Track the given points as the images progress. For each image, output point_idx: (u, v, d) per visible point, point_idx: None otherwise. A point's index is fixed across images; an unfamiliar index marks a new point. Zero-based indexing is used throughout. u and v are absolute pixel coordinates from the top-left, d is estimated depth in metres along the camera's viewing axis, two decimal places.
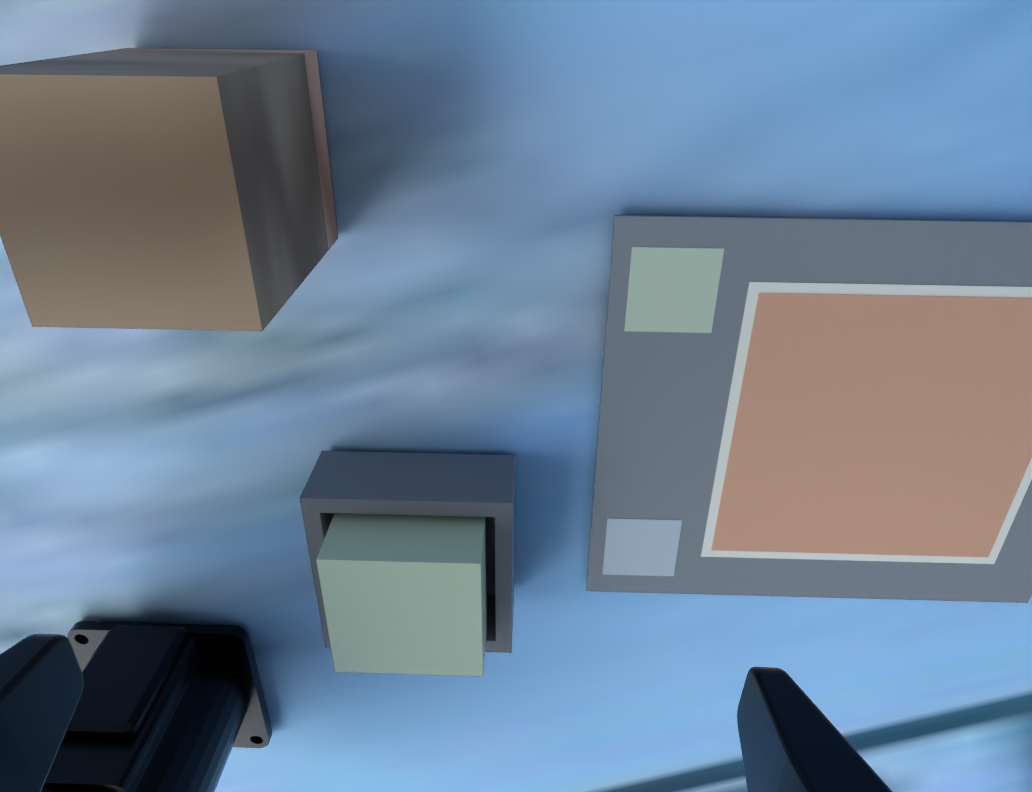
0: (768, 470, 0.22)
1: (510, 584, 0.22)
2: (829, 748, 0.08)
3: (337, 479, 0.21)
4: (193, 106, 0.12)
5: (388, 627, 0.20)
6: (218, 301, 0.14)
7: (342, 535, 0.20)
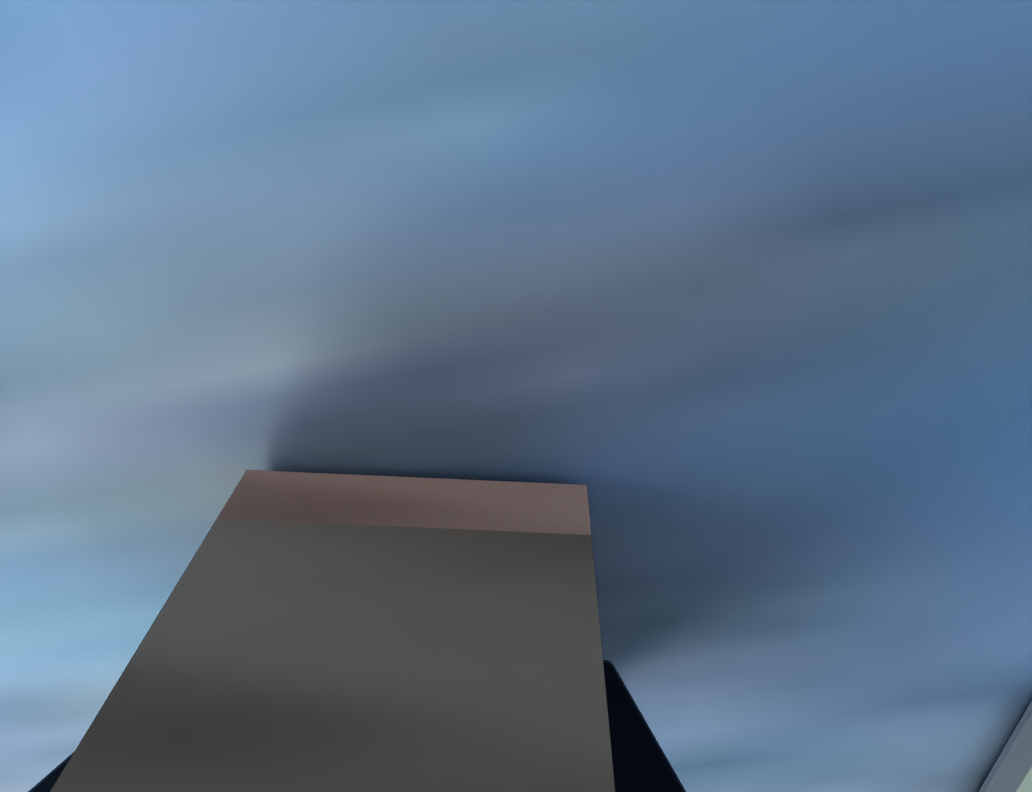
0: None
1: None
2: (630, 739, 0.08)
3: None
4: None
5: None
6: None
7: None
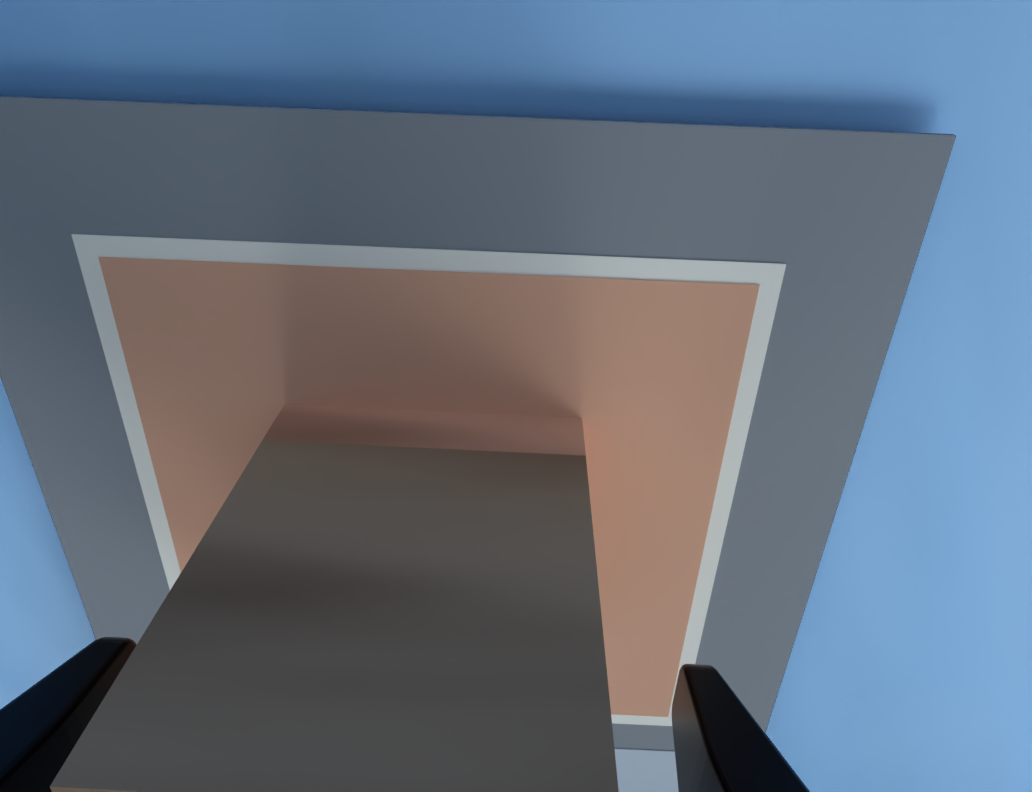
0: None
1: None
2: (749, 744, 0.08)
3: None
4: None
5: None
6: None
7: None
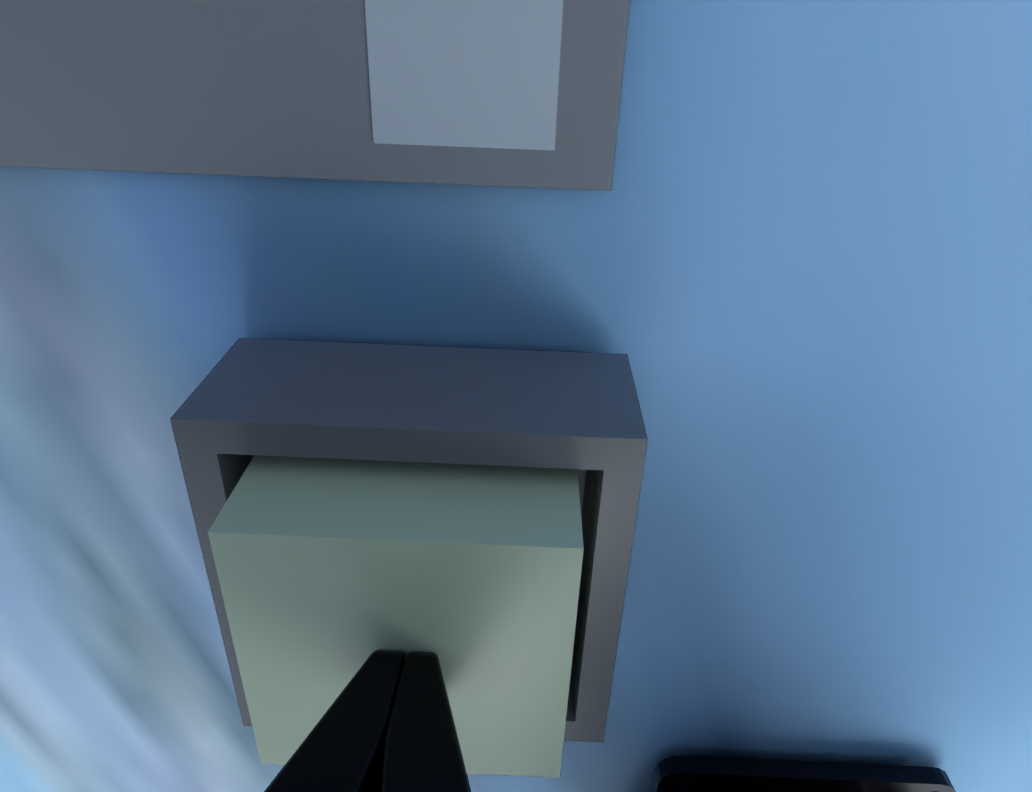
0: None
1: (414, 431, 0.09)
2: (428, 729, 0.08)
3: None
4: None
5: None
6: None
7: None
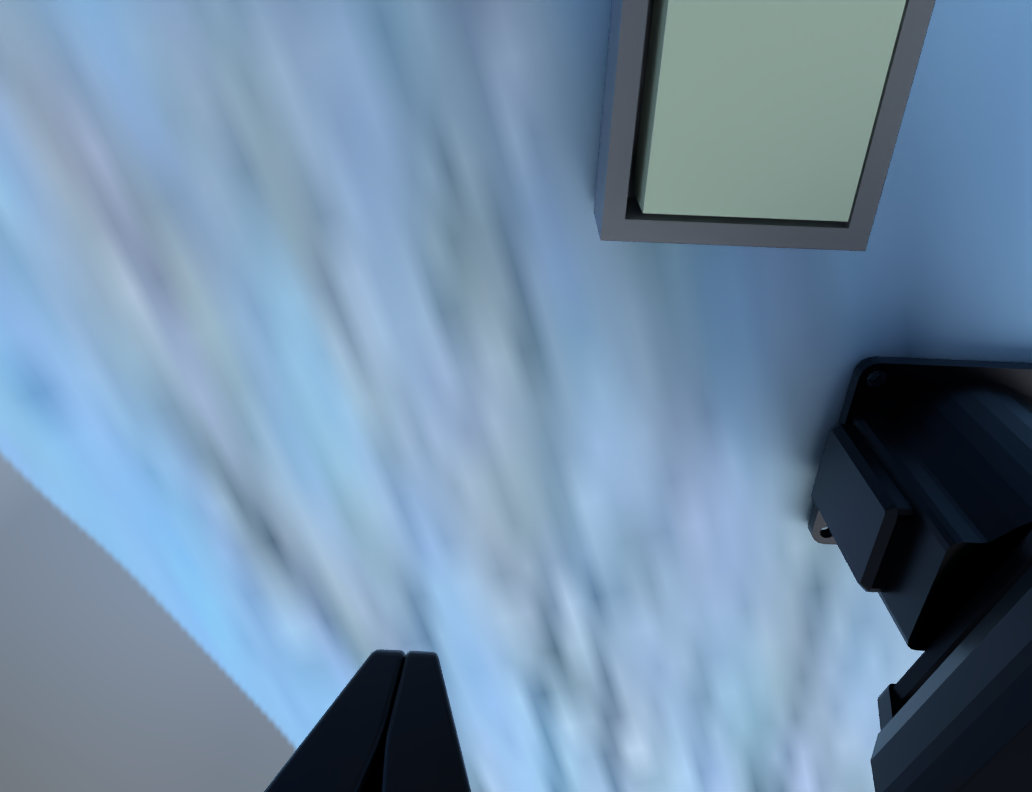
0: None
1: None
2: (428, 729, 0.08)
3: (600, 192, 0.17)
4: None
5: (776, 132, 0.15)
6: None
7: (639, 180, 0.16)
